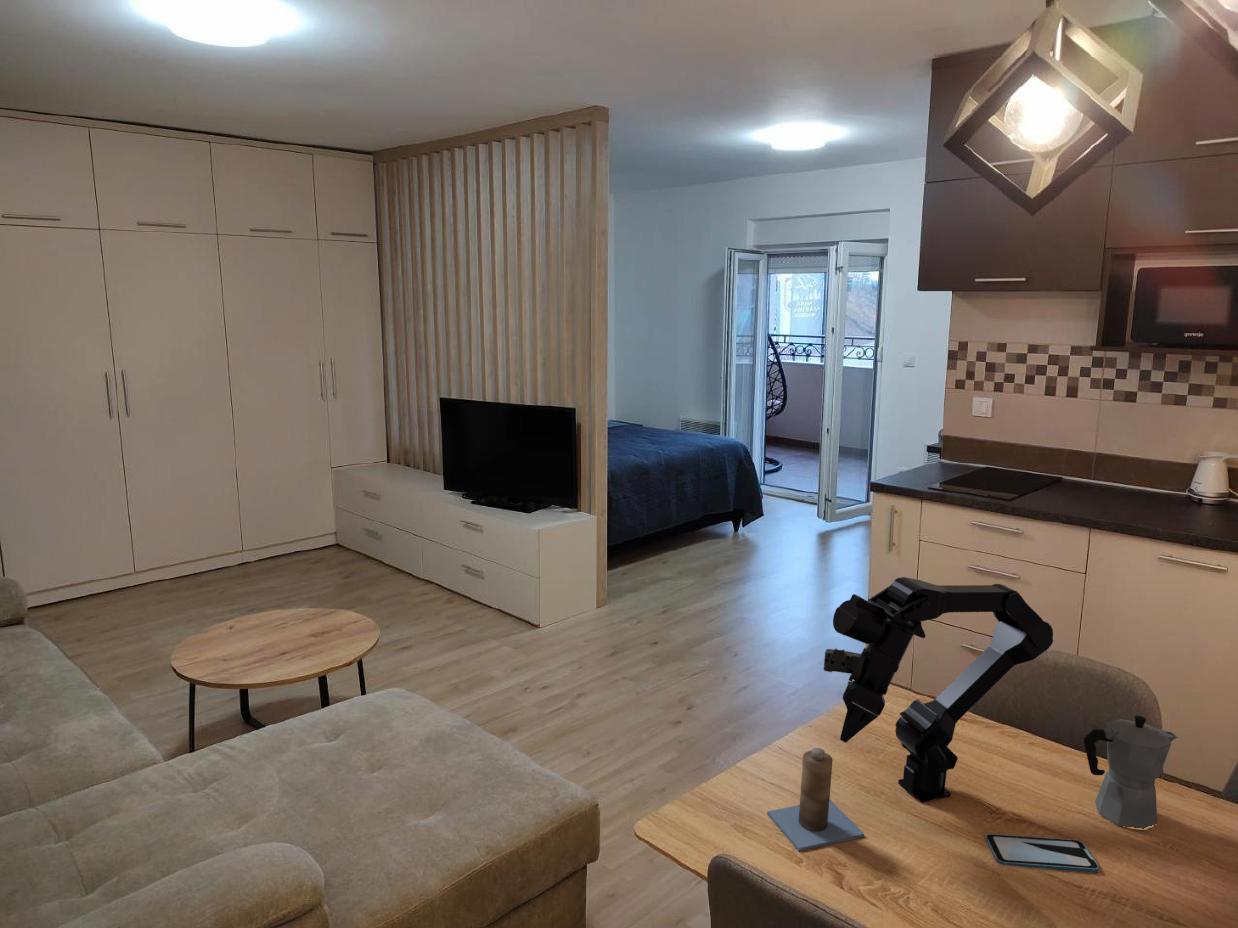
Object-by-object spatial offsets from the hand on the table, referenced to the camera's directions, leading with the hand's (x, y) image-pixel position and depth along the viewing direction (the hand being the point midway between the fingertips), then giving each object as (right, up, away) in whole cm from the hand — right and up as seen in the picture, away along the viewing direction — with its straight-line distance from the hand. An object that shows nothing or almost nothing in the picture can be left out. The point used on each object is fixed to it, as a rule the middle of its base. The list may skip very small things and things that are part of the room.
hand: (844, 734), depth 142 cm
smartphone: (+28, -16, -9) cm, 34 cm away
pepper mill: (-6, -13, -4) cm, 15 cm away
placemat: (-6, -14, -4) cm, 15 cm away
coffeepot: (+47, -14, +1) cm, 49 cm away
